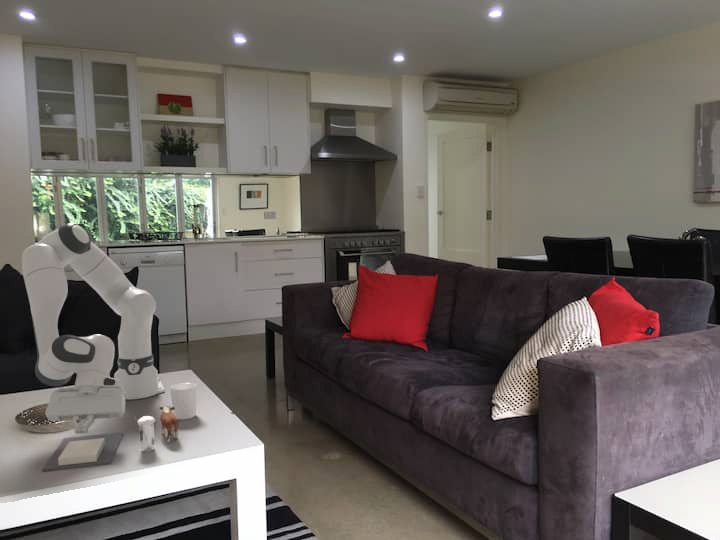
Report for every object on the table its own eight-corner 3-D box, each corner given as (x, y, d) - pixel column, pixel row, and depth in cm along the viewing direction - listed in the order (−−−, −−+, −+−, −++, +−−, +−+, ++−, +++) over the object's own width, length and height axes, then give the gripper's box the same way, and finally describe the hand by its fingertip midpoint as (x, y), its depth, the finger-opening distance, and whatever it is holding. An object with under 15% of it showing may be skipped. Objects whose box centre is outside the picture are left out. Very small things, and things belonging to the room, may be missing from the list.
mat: (64, 440, 167) (64, 438, 167) (123, 434, 171) (123, 432, 171) (42, 471, 146) (42, 469, 146) (110, 463, 150) (110, 461, 150)
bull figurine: (174, 427, 176) (173, 401, 175) (181, 442, 164) (179, 414, 163) (159, 430, 174) (157, 403, 173) (164, 445, 162) (163, 417, 161)
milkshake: (133, 450, 159) (131, 414, 158) (153, 445, 162) (151, 410, 161) (138, 455, 155) (136, 418, 155) (159, 449, 159) (157, 414, 158)
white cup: (190, 421, 181) (188, 389, 181) (167, 419, 183) (165, 388, 182) (202, 412, 189) (200, 382, 188) (179, 411, 191) (178, 382, 190)
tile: (69, 441, 159) (58, 458, 148) (104, 437, 161) (96, 454, 150) (69, 448, 159) (58, 466, 148) (104, 444, 162) (96, 461, 150)
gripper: (49, 383, 162) (36, 430, 153) (125, 379, 164) (116, 425, 155) (56, 394, 167) (44, 440, 158) (130, 390, 169) (122, 435, 160)
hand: (80, 432), depth 157 cm, fingers closed
